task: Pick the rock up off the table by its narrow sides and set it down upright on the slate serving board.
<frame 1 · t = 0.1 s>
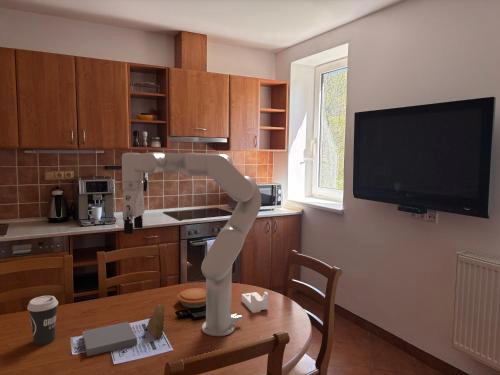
hand: (133, 230, 142), 37 cm above the table, tool pointing down, fingers open, 9 cm apart
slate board: (109, 340, 133), on the table
bracket: (254, 306, 165), on the table
coffee cup: (44, 341, 133), on the table
pie: (194, 303, 167), on the table
rock: (154, 332, 140), on the table
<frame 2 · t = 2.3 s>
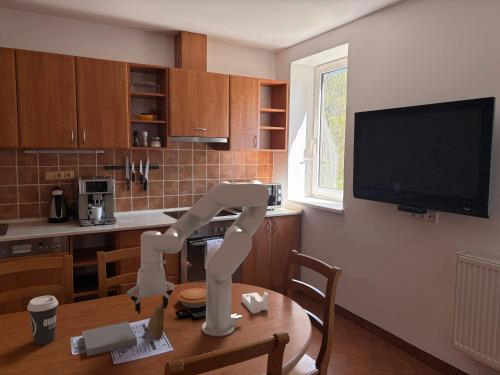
hand: (151, 309, 139), 9 cm above the table, tool pointing down, fingers open, 9 cm apart
rock: (154, 333, 140), on the table, touching gripper
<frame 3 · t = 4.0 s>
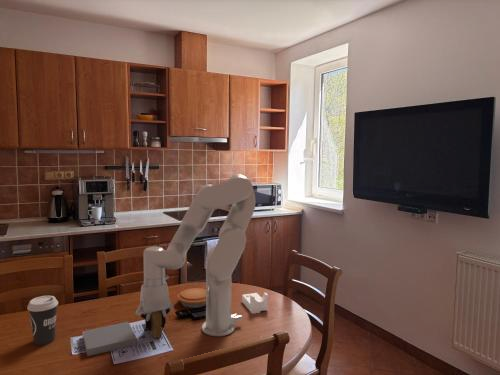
hand: (155, 327, 140), 2 cm above the table, tool pointing down, fingers closed on rock, 4 cm apart
rock: (154, 331, 140), on the table, touching gripper
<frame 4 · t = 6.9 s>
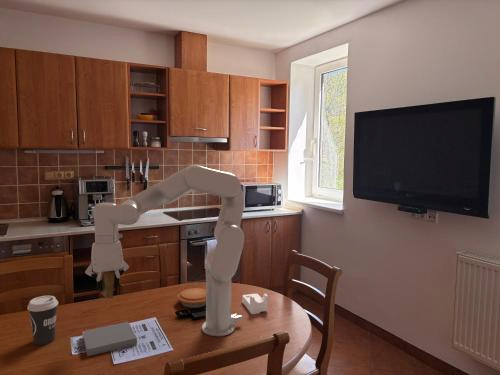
hand: (108, 289, 131), 19 cm above the table, tool pointing down, fingers closed on rock, 4 cm apart
rock: (107, 293, 131), point 17 cm above the table, touching gripper
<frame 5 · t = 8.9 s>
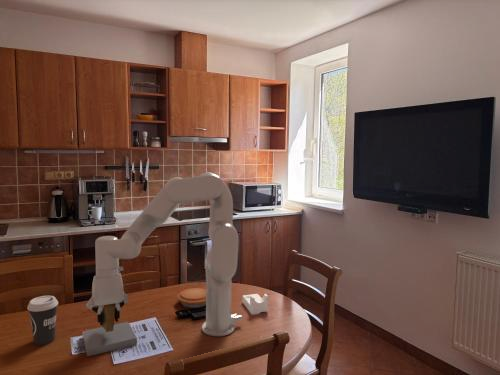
hand: (108, 321, 133), 7 cm above the table, tool pointing down, fingers closed on rock, 4 cm apart
rock: (107, 326, 133), point 6 cm above the table, touching gripper
when the fingers open (6 cm above the table, at t = 10.0 s): rock drops 2 cm, resting on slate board.
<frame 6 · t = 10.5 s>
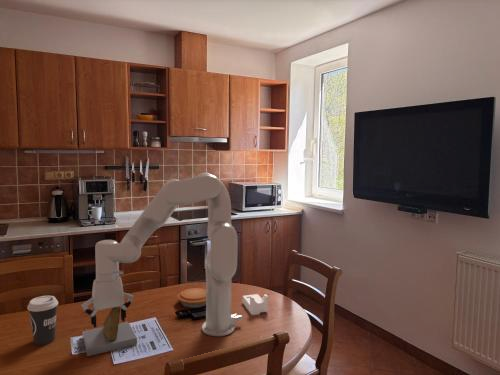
hand: (109, 322, 133), 7 cm above the table, tool pointing down, fingers open, 9 cm apart
rock: (110, 334, 133), point 2 cm above the table, touching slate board
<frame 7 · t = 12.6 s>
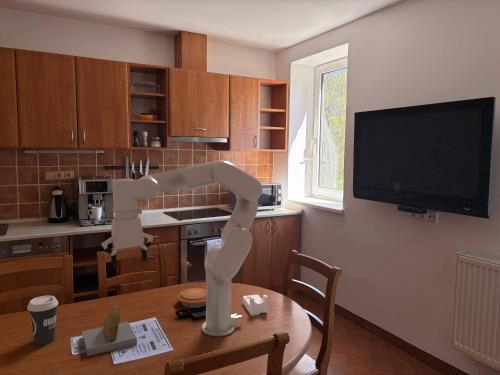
hand: (129, 263, 130), 28 cm above the table, tool pointing down, fingers open, 9 cm apart
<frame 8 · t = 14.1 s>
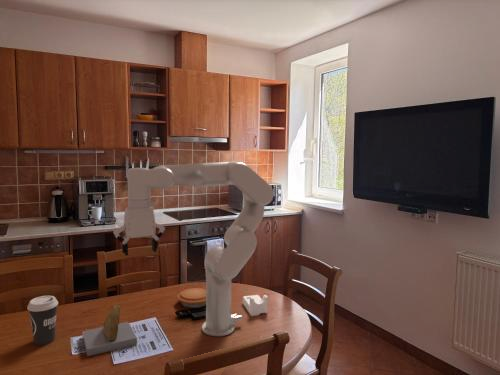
hand: (140, 252, 130), 32 cm above the table, tool pointing down, fingers open, 9 cm apart
at the end: rock inside the target area on the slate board (0.3 cm from its centre), point 2.2 cm above the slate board's base; rock tilted 0°; the gripper is holding nothing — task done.
